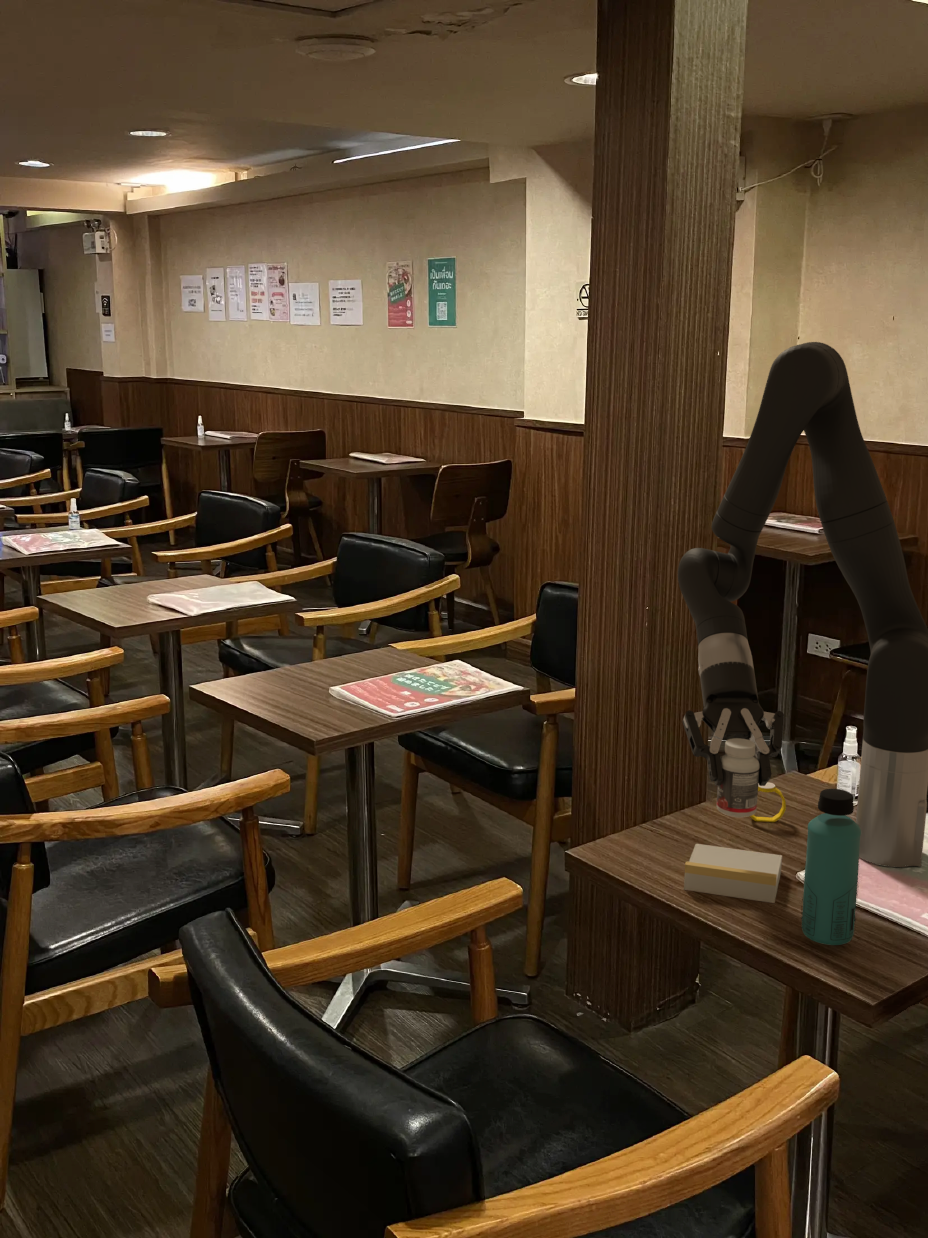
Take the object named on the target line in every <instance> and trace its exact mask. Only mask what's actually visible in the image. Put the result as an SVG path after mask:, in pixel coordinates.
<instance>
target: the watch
mask: <svg viewBox="0 0 928 1238" xmlns="http://www.w3.org/2000/svg"><path fill="white" fill-rule="evenodd" d="M759 792H762V793H776V794H777V795H778V796H779V797H780V798H781V808H780V809H779V812H778V813H776V814H775V815H774V816H772V817H771V816H770V817H767V816H756V815H755V814H753V815H751V816H749V817H750V818H751V819H752V820H753V821H754V822H757V823H758V822H760V823H763V822H767V823H776V822H777V821H779V820H781V818H782V817H783V816H784V814H785V812H786V809H787V807H786V806H787V804H786V803H787V802H786V798H785V797H784V795H783V792H782V791H781V790H780V789H779V788H777V787H776V785H775V783H773V782H769V781H768V782H767V783H766V785H765V786H759V783H758V793H759Z"/></svg>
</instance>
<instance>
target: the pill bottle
mask: <svg viewBox="0 0 928 1238" xmlns="http://www.w3.org/2000/svg"><path fill="white" fill-rule="evenodd" d="M724 753H725V754H723V755H722V756H720V757H721V765H722V773H723V782H722V784H721V786H717V791H716V793H717V794H716V809H717V811H718V812H719V813H721V814H723V815H725V816H728V817H732V818H747V817H750V816H751V815H753V814H754V815H755V814H756V813H757V809H758V807H757V806H758V795H759V792H758V783H759V769H760V764H759V761H758V760H757V758H756V756H755V743H754V742H752V741H750V740H747V739H741V738H734V739H729V740H725V742H724Z"/></svg>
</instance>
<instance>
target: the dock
mask: <svg viewBox="0 0 928 1238" xmlns="http://www.w3.org/2000/svg"><path fill="white" fill-rule="evenodd" d="M782 860H783V855H781V854H776V853H775V854H774V853H768V852H759V851H752V850H744V849H738V848H731V847H730V848H729V847H723V846H717V845H709V844H701V843H695V845H694V848H693V850H692V852H691V855H690V858H689V860H687V861H685V863H684V878H683V879H684V880H683V890H684V891H685V890H686V891H690V892H691V891H692V892H698V893H705V894H712V895H718V896H724V897H729V898H730V897H731V898H738V899H745V900H750V901H758V902H763V903H771V904H775V902H776V899H777V893H778V887H779V883H780V879H781V875H782V874H781V873H782V864H783V863H782V862H783V861H782Z"/></svg>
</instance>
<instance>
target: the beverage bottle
mask: <svg viewBox="0 0 928 1238" xmlns="http://www.w3.org/2000/svg"><path fill="white" fill-rule="evenodd" d="M854 808H855V807H854V796H853V794H852V793H851V792H849V791H847V790H845V789H840V788H826V789H822V790H821V791H820V793H819V798H818V802H817V809H818V810H819V811H821V812H822V813H821V814H818V815H817V816H816V817H814V818H812V819H811V820H810V821H808V823H807V839H806V853H805V854H806V857H805V863H804V865H805V866H804V874H803V879H802V882H803V883H802V884H803V885H802V888H803V894H802V897H801V906H800V907H801V908H802V911H801V917H800V927H801V930H802V933H803V935H804V936H805V937H806V938H808V939H810V940H811V941H813V942H816V943H819V944H821V945H829V946H840V945H844V944H848V943H850V942H851V941H852V939H853V937H854V936H855V931H856V929H855V925H856V924H857V913H856V911H857V898H858V896H859V895H858V894H859V890H858V889H859V884H860V881H859V878H860V877H859V876H860V873H859V870H860V868H859V867H860V857H859V850H860V836H861V828H860V827H859V826H858V825H857V824H856V821H854V820H853V819H852V818H851V817H849V815H851V814H853V813H854Z"/></svg>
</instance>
